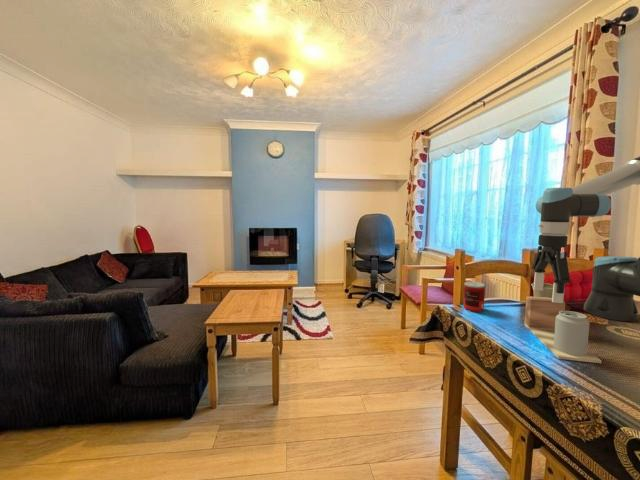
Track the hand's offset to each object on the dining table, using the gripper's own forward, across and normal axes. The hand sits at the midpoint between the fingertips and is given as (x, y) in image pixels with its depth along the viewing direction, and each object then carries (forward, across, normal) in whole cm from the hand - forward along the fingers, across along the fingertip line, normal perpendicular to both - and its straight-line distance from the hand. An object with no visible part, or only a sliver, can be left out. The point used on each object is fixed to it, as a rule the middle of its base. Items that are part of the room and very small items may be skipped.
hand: (547, 296), depth 99 cm
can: (+13, +15, 0) cm, 20 cm away
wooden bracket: (+13, +8, +1) cm, 15 cm away
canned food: (+13, -17, -18) cm, 28 cm away
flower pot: (+12, -29, +12) cm, 34 cm away
